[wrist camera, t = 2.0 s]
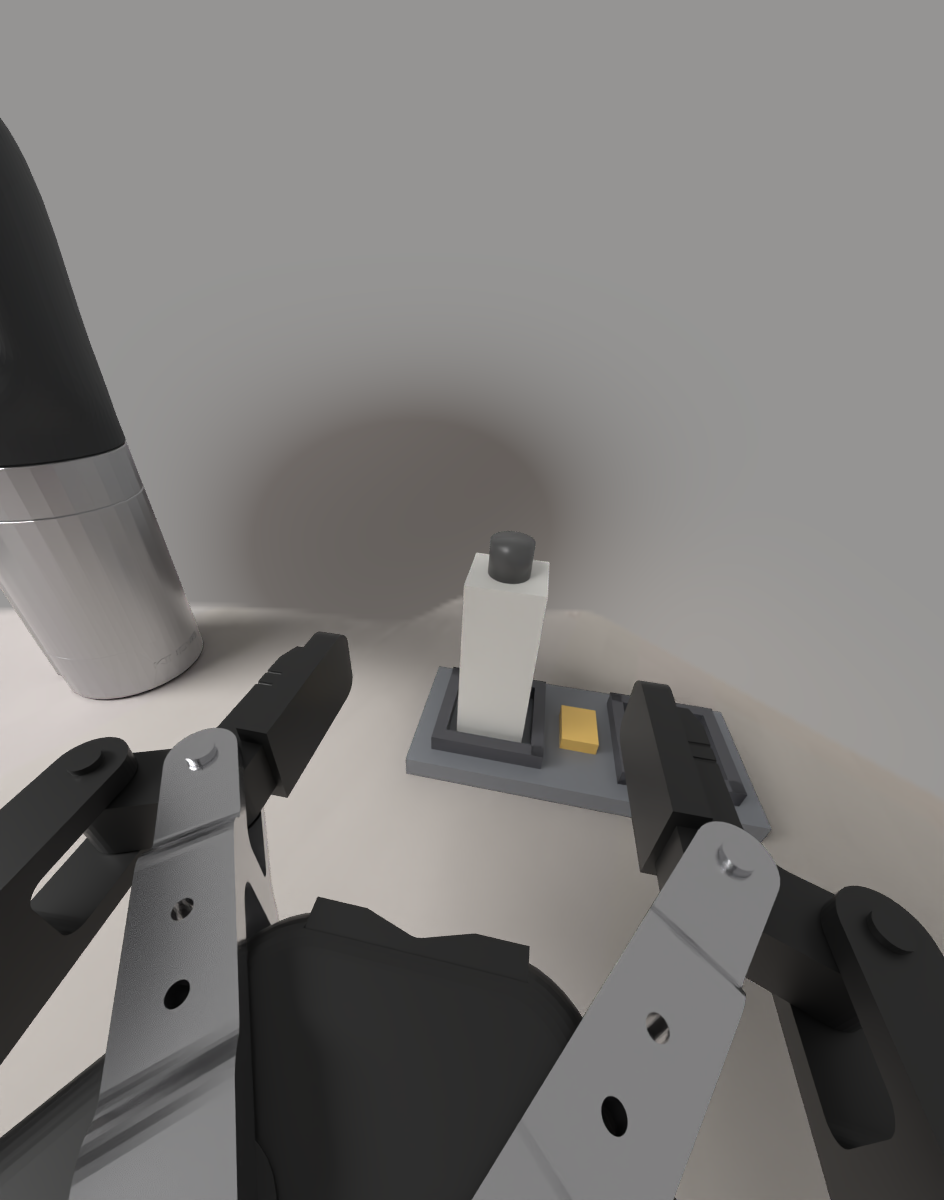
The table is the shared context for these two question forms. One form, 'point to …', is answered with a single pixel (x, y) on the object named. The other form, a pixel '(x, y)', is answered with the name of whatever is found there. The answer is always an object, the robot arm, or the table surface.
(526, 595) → the plug
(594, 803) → the power strip
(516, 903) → the table surface
